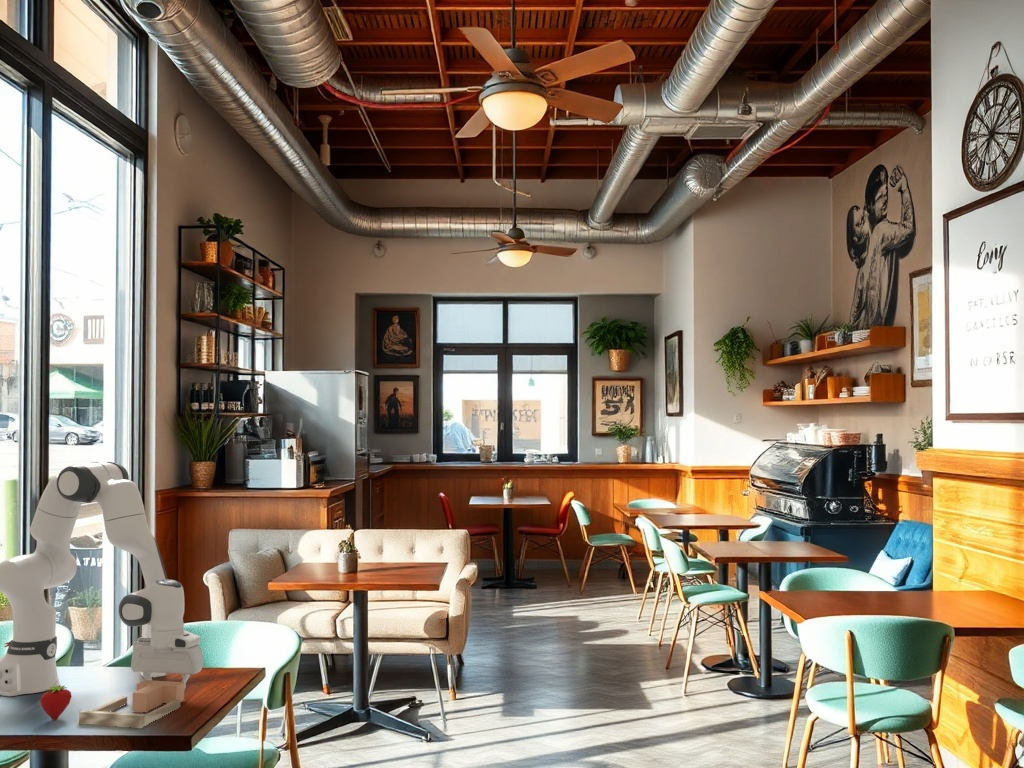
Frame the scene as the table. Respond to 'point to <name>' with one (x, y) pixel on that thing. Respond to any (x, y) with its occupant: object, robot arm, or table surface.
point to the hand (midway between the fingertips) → (166, 688)
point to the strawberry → (55, 701)
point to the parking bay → (123, 715)
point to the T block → (156, 694)
